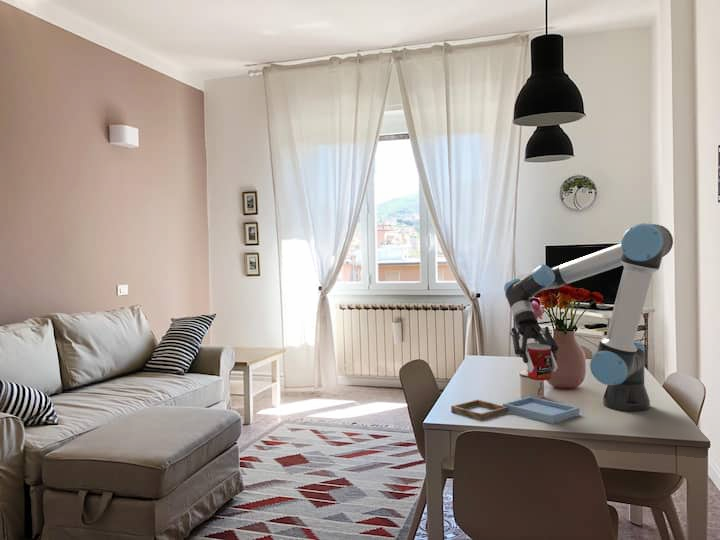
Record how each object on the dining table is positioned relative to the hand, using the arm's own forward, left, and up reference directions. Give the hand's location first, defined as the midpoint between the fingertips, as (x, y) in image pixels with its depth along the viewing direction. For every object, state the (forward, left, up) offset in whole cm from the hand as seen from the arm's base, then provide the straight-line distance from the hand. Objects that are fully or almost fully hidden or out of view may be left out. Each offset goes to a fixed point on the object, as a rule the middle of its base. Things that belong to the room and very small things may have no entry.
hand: (543, 369), depth 198 cm
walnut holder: (+17, +13, -16) cm, 26 cm away
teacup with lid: (+19, -19, -16) cm, 31 cm away
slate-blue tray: (+3, -2, -16) cm, 16 cm away
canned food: (+3, -2, -4) cm, 5 cm away
